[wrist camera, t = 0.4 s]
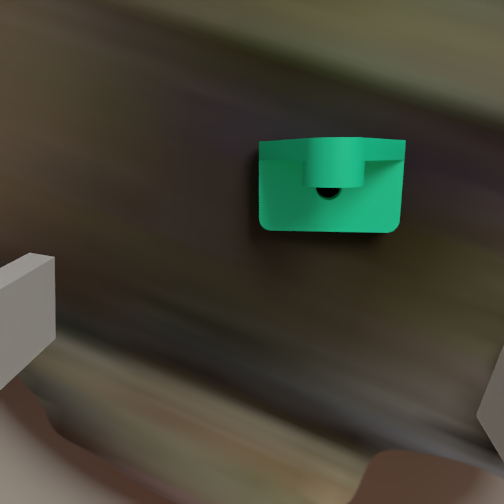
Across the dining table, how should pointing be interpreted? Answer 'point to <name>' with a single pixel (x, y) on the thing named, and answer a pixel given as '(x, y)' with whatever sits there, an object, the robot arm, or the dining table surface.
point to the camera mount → (331, 184)
